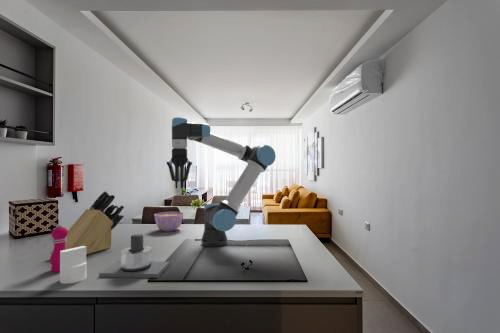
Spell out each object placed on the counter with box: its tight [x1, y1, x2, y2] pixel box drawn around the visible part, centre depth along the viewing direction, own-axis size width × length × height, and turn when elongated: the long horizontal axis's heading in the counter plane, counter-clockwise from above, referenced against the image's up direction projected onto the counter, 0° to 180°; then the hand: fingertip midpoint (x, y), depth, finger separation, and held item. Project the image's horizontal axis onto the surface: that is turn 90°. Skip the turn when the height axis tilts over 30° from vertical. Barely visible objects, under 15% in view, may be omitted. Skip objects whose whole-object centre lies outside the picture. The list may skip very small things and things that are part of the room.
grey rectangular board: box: [98, 260, 171, 279], centre depth 122 cm, size 24×15×2 cm, turn 87°
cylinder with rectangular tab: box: [59, 246, 88, 285], centre depth 113 cm, size 9×9×12 cm
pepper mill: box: [49, 223, 69, 273], centre depth 124 cm, size 7×7×20 cm
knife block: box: [49, 190, 125, 256], centre depth 151 cm, size 11×35×31 cm, turn 155°
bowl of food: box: [153, 211, 184, 233], centre depth 201 cm, size 20×20×12 cm
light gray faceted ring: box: [120, 245, 153, 272], centre depth 122 cm, size 12×12×8 cm
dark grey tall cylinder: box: [130, 233, 144, 252], centre depth 122 cm, size 5×5×12 cm
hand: (179, 194), depth 145 cm, fingers closed
